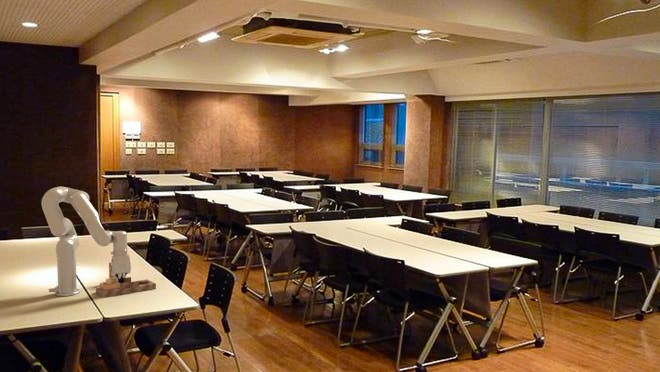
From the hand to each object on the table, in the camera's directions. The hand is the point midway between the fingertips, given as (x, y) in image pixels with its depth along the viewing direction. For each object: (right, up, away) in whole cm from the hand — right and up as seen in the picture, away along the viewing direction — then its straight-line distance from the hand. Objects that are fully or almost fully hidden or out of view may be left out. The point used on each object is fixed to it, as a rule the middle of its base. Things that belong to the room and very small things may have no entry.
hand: (121, 284), depth 323 cm
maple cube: (-4, -1, -3) cm, 5 cm away
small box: (-9, -3, +18) cm, 20 cm away
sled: (-5, -1, -4) cm, 6 cm away
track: (+2, -4, +2) cm, 5 cm away
